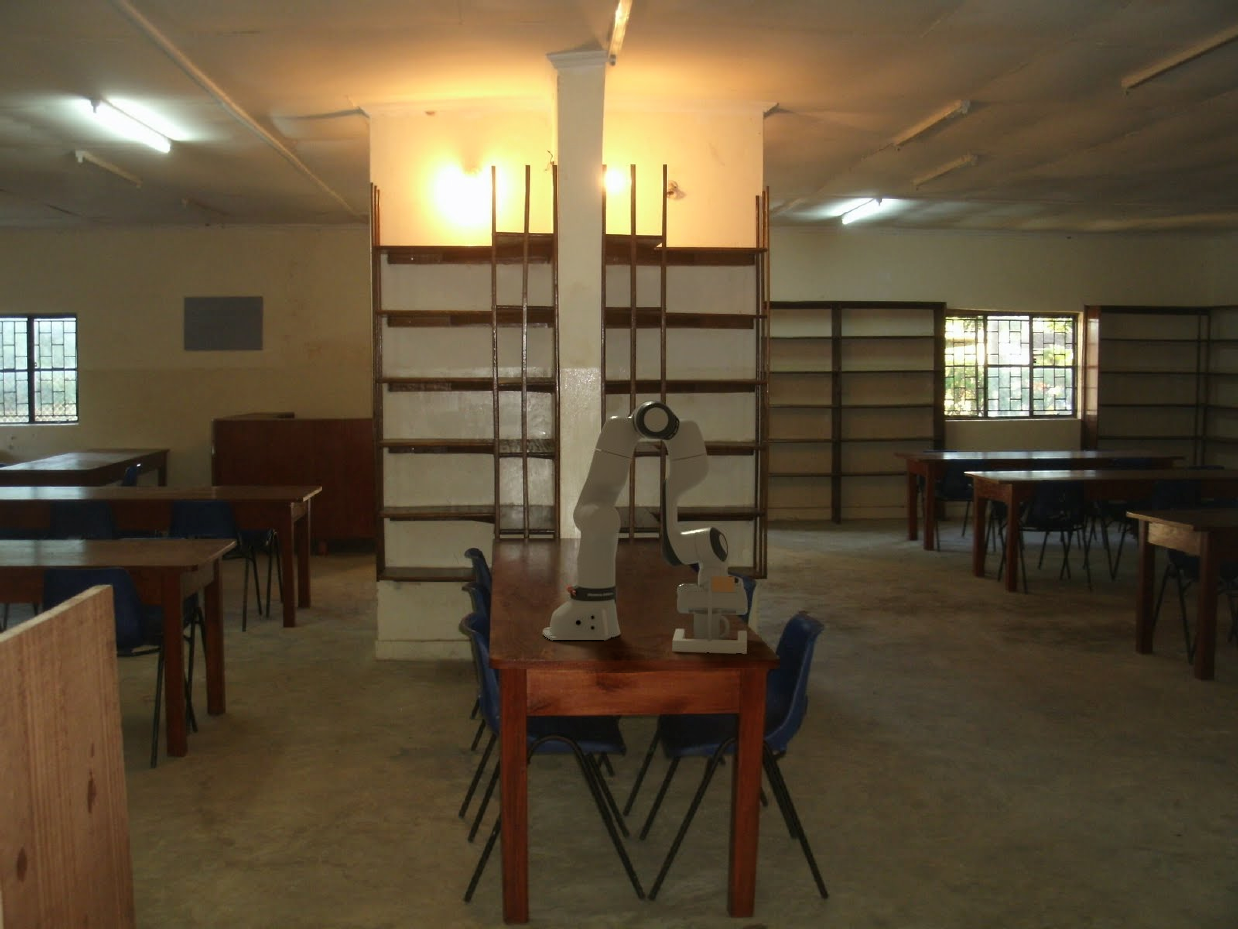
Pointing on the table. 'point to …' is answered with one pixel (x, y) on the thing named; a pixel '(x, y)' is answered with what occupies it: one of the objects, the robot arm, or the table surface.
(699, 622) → the cup
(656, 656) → the table surface
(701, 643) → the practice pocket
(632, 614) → the table surface
